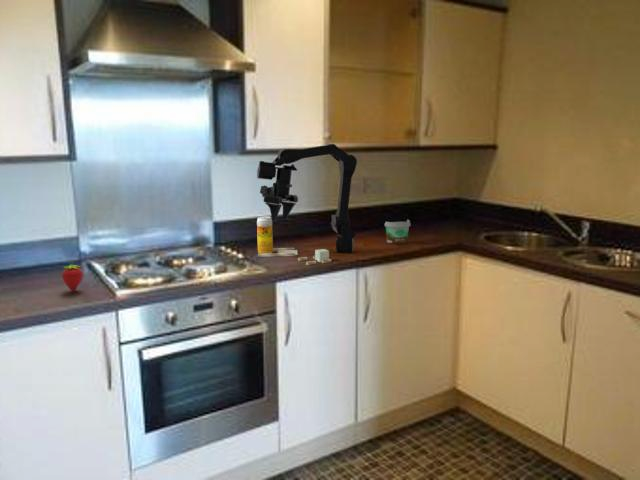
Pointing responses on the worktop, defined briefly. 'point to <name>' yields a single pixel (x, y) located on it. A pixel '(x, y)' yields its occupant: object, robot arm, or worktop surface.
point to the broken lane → (313, 261)
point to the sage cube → (321, 255)
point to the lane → (278, 253)
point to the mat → (289, 251)
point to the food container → (397, 232)
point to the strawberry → (72, 276)
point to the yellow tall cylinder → (264, 235)
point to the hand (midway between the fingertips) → (279, 220)
